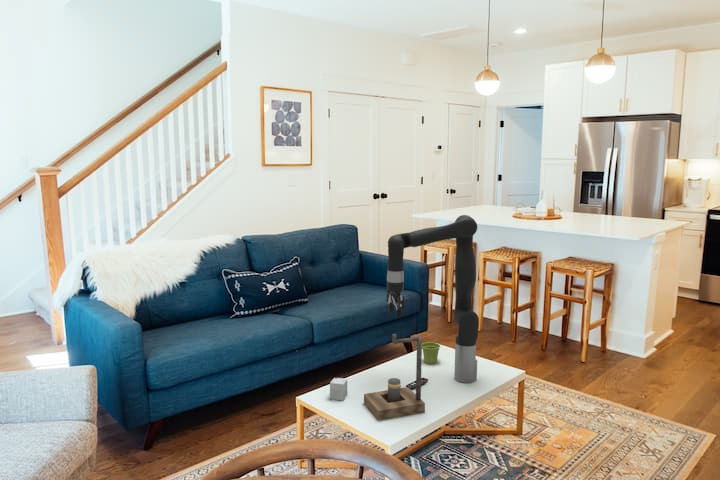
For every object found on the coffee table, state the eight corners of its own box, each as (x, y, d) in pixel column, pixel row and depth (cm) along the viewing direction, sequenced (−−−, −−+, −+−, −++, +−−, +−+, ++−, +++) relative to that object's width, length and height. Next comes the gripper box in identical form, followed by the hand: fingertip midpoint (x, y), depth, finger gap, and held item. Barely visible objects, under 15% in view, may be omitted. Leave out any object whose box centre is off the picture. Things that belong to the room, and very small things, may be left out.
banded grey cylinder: (397, 402, 228) (397, 377, 226) (402, 407, 223) (402, 382, 222) (385, 404, 226) (385, 379, 225) (390, 409, 222) (391, 384, 220)
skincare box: (343, 401, 229) (343, 384, 228) (329, 399, 231) (329, 382, 230) (347, 395, 235) (347, 378, 234) (334, 393, 237) (334, 377, 236)
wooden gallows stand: (407, 395, 234) (408, 322, 229) (424, 412, 220) (426, 334, 214) (363, 403, 227) (364, 327, 222) (378, 420, 213) (379, 340, 208)
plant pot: (435, 367, 266) (435, 350, 265) (417, 363, 271) (417, 346, 270) (443, 361, 274) (443, 344, 272) (426, 357, 279) (426, 340, 277)
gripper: (409, 282, 240) (409, 318, 243) (396, 276, 253) (396, 310, 256) (394, 284, 237) (393, 320, 240) (381, 277, 251) (381, 311, 253)
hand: (394, 315), depth 248 cm, fingers open, 8 cm apart
